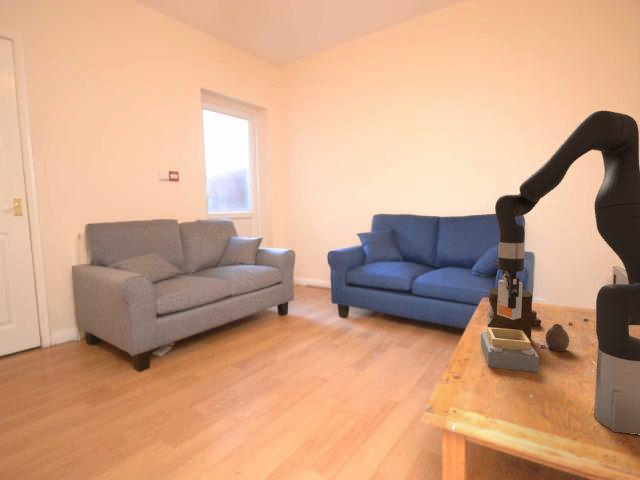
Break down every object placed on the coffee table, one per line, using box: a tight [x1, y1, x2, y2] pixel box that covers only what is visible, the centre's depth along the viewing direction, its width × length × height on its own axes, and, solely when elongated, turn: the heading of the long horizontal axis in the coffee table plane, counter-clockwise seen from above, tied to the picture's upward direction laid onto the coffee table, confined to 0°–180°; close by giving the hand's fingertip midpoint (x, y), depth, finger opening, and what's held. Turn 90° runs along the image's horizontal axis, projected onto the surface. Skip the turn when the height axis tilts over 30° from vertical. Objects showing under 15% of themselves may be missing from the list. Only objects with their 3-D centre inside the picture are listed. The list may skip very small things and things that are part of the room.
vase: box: [545, 323, 570, 352], centre depth 121 cm, size 7×7×9 cm
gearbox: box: [480, 326, 540, 373], centre depth 116 cm, size 18×14×8 cm
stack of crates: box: [532, 309, 542, 328], centre depth 147 cm, size 15×15×7 cm
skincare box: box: [497, 279, 524, 320], centre depth 114 cm, size 6×4×12 cm
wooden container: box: [487, 287, 533, 343], centre depth 132 cm, size 15×15×22 cm
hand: (509, 304), depth 114 cm, fingers closed on skincare box, 7 cm apart
